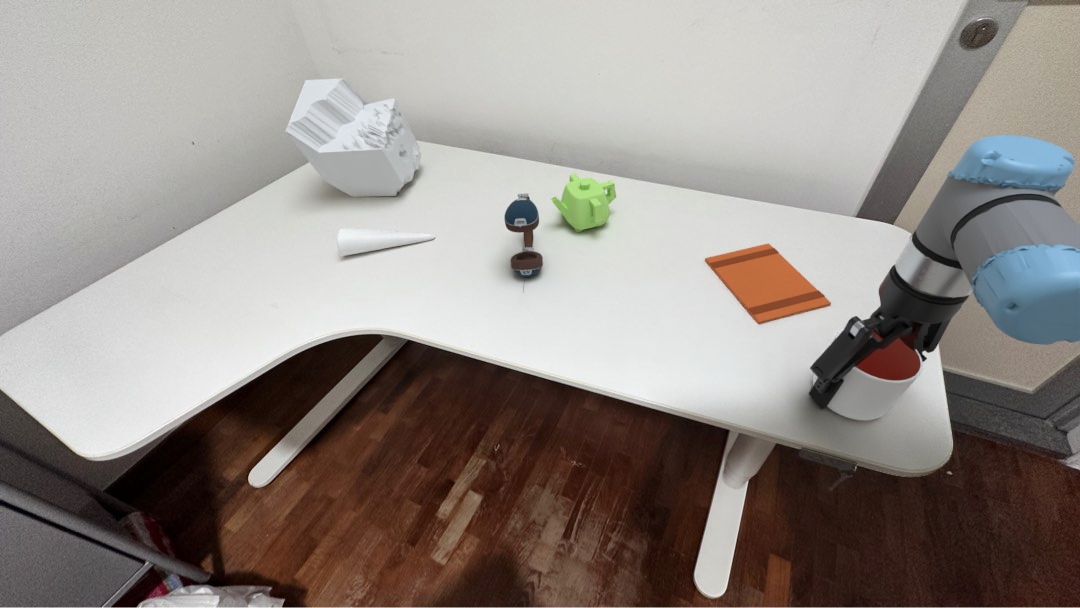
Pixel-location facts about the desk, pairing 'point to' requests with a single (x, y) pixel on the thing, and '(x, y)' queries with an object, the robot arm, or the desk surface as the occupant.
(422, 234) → the long cone
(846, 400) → the cup
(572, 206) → the teapot
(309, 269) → the desk surface
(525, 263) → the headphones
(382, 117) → the white faceted rock
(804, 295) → the towel
